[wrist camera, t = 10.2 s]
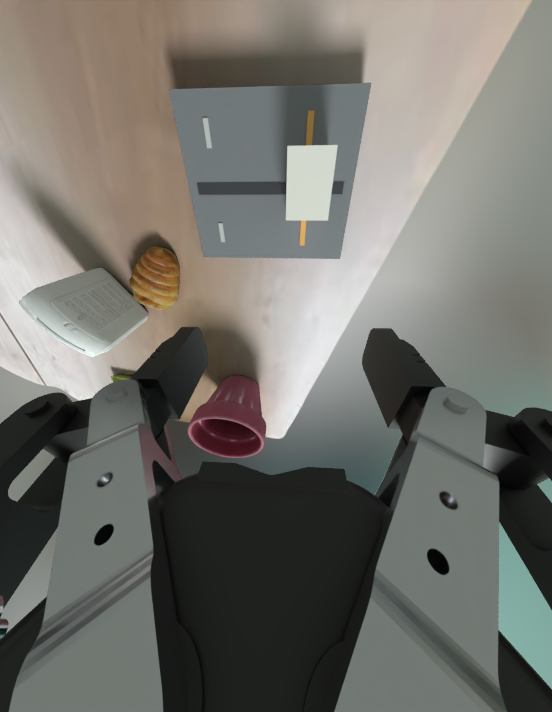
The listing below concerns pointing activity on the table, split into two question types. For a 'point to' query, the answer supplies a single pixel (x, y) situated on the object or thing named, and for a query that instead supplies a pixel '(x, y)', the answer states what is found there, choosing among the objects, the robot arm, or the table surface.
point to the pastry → (156, 278)
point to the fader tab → (309, 181)
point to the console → (266, 164)
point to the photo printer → (85, 311)
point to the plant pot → (230, 420)
